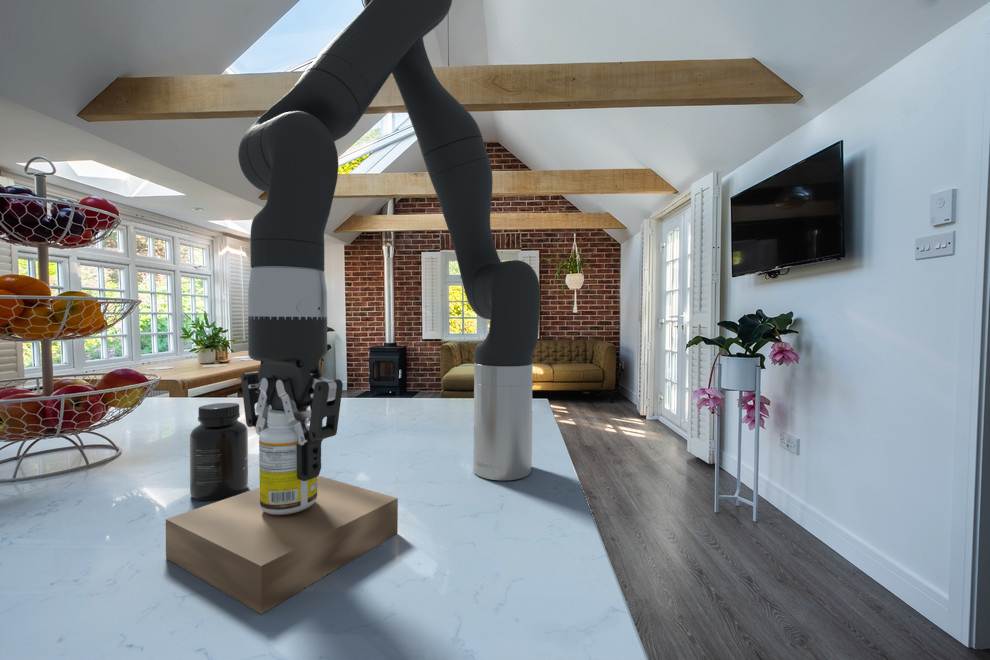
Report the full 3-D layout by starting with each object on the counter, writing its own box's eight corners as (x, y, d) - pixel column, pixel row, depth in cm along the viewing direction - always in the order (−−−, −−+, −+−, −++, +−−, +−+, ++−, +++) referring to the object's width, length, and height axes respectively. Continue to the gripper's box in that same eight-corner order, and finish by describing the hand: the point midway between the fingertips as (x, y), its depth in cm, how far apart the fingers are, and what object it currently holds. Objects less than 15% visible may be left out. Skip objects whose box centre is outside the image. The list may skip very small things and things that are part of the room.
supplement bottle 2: (302, 491, 51) (301, 402, 51) (327, 504, 47) (327, 409, 47) (250, 506, 47) (249, 409, 46) (273, 522, 43) (273, 418, 43)
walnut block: (306, 502, 58) (305, 471, 58) (397, 533, 50) (397, 498, 50) (165, 558, 44) (165, 519, 44) (261, 614, 36) (261, 566, 36)
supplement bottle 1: (259, 487, 63) (258, 403, 62) (210, 505, 57) (210, 412, 56) (227, 479, 66) (227, 399, 65) (178, 496, 59) (177, 407, 59)
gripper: (364, 314, 46) (364, 475, 47) (279, 313, 53) (280, 452, 54) (301, 313, 40) (301, 500, 40) (214, 313, 47) (215, 471, 47)
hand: (289, 472), depth 47 cm, fingers closed on supplement bottle 2, 5 cm apart
